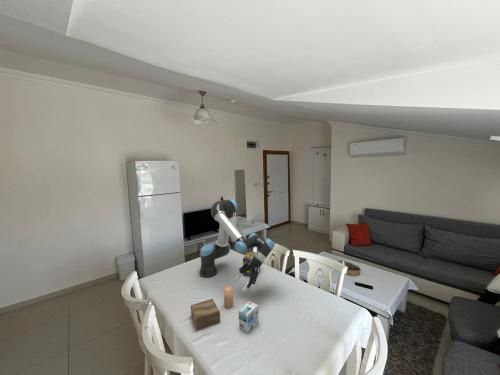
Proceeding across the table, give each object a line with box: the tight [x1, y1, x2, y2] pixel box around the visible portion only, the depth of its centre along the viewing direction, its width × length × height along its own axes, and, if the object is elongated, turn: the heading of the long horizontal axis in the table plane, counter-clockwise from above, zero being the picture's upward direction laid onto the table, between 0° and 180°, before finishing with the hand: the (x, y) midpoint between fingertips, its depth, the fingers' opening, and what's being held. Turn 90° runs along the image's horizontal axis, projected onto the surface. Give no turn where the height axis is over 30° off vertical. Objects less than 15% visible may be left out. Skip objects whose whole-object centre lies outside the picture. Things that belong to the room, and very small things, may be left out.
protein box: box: [242, 250, 261, 278], centre depth 185 cm, size 10×15×16 cm
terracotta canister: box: [223, 285, 234, 309], centre depth 143 cm, size 6×6×12 cm
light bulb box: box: [238, 301, 260, 334], centre depth 125 cm, size 11×7×11 cm, turn 143°
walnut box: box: [190, 298, 221, 331], centre depth 131 cm, size 14×14×7 cm
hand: (239, 286), depth 144 cm, fingers open, 13 cm apart
